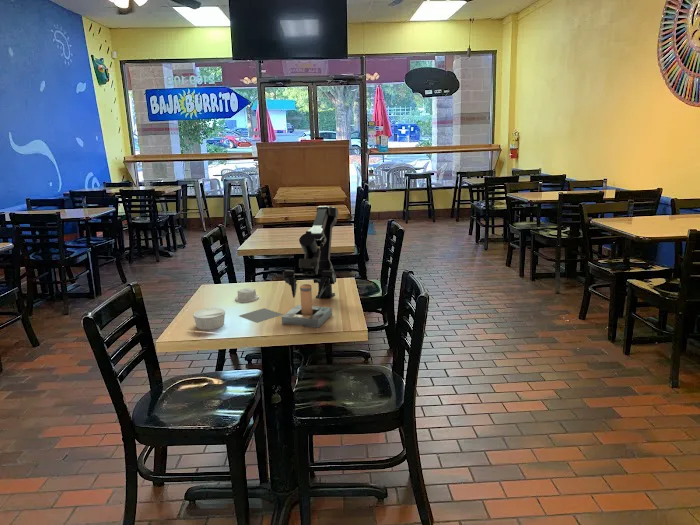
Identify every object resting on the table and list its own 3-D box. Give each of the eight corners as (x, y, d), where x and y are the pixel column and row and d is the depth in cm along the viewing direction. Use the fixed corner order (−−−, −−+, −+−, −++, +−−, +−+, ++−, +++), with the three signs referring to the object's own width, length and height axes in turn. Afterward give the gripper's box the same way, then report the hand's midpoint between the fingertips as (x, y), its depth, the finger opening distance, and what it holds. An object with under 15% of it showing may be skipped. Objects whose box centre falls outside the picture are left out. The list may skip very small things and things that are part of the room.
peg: (300, 318, 197) (298, 284, 194) (311, 317, 198) (309, 283, 195) (303, 322, 193) (301, 287, 190) (314, 320, 194) (312, 286, 191)
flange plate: (297, 312, 204) (296, 304, 203) (331, 315, 200) (331, 307, 199) (282, 324, 191) (281, 316, 190) (318, 327, 187) (318, 319, 186)
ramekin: (209, 334, 185) (208, 319, 183) (187, 328, 191) (186, 314, 189) (232, 324, 194) (231, 310, 192) (211, 319, 200) (210, 306, 198)
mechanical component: (252, 304, 217) (263, 297, 226) (252, 294, 216) (262, 287, 225) (230, 303, 220) (242, 296, 229) (229, 292, 219) (241, 286, 228)
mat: (264, 309, 209) (264, 308, 209) (283, 315, 201) (283, 314, 201) (238, 317, 201) (238, 315, 201) (257, 323, 193) (257, 322, 193)
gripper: (282, 249, 196) (275, 286, 188) (332, 249, 193) (327, 287, 184) (289, 264, 205) (283, 300, 197) (337, 265, 202) (332, 301, 194)
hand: (305, 297), depth 193 cm, fingers open, 9 cm apart
